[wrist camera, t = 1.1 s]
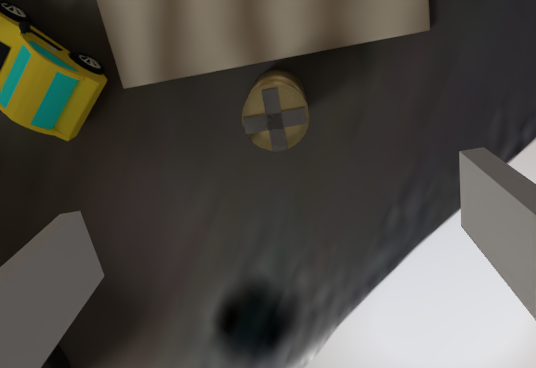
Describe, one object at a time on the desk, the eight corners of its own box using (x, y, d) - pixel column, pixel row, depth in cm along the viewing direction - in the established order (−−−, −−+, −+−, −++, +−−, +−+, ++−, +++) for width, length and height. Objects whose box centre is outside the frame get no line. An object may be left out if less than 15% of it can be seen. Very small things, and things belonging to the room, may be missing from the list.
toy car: (122, 66, 36) (76, 81, 28) (80, 139, 38) (28, 172, 31) (-15, -28, 34) (-105, -38, 26) (-49, 57, 36) (-141, 70, 28)
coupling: (257, 126, 37) (248, 159, 29) (246, 74, 35) (233, 93, 27) (308, 117, 37) (314, 148, 28) (300, 63, 35) (303, 80, 27)
